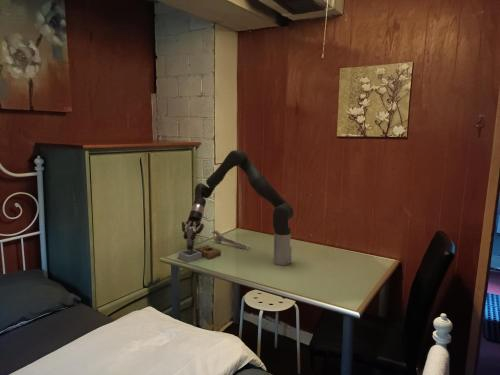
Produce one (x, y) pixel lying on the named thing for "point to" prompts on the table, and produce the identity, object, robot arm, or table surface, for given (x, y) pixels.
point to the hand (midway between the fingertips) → (188, 238)
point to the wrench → (229, 240)
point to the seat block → (190, 255)
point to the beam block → (209, 252)
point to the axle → (189, 237)
